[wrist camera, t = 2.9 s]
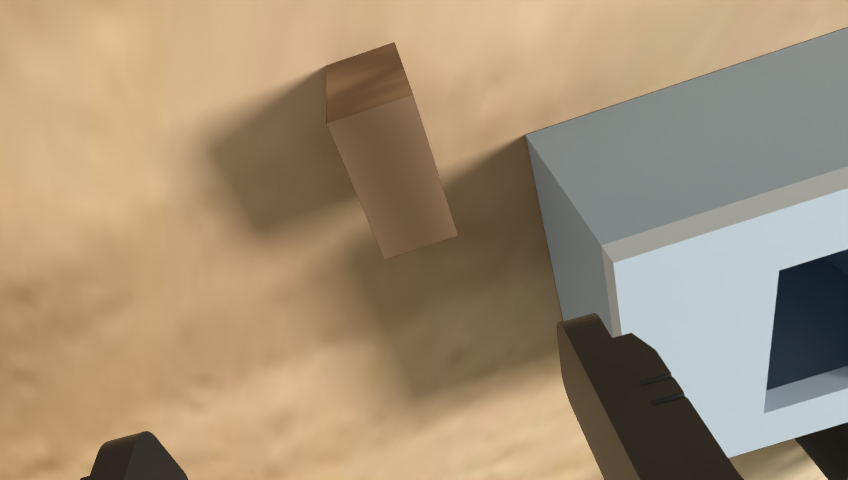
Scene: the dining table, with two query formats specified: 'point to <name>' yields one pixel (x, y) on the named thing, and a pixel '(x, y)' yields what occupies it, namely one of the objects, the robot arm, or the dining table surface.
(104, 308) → the dining table surface
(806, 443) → the milk frother
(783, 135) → the box
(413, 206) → the wooden rectangular block
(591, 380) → the robot arm
